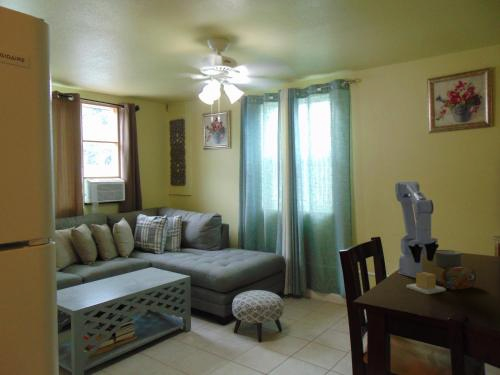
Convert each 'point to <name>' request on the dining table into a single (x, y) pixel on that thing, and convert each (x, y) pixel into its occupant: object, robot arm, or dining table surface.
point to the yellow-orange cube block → (425, 280)
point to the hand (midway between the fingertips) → (423, 261)
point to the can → (447, 258)
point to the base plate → (426, 291)
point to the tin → (458, 277)
